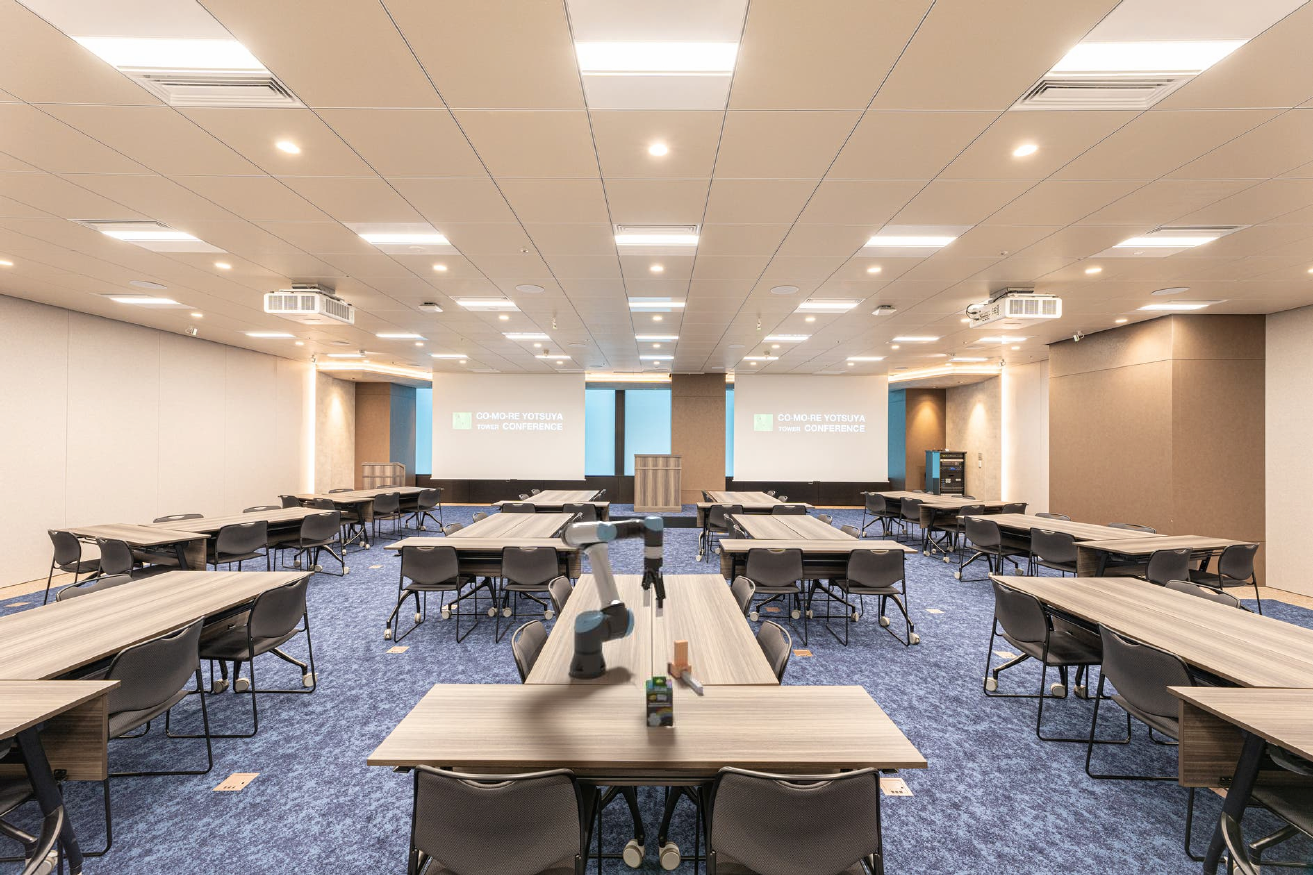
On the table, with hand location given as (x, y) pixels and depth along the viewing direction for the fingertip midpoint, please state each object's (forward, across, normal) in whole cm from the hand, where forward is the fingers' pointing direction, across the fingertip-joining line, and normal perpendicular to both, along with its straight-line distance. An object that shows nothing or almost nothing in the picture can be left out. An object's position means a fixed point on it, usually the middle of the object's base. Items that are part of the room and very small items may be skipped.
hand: (652, 611), depth 193 cm
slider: (+28, -4, +14) cm, 31 cm away
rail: (+29, +3, +14) cm, 32 cm away
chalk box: (+29, +24, -7) cm, 38 cm away
